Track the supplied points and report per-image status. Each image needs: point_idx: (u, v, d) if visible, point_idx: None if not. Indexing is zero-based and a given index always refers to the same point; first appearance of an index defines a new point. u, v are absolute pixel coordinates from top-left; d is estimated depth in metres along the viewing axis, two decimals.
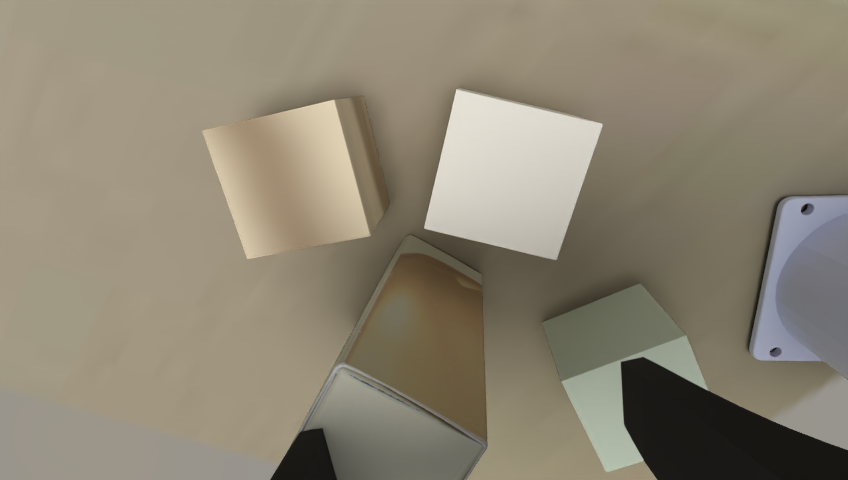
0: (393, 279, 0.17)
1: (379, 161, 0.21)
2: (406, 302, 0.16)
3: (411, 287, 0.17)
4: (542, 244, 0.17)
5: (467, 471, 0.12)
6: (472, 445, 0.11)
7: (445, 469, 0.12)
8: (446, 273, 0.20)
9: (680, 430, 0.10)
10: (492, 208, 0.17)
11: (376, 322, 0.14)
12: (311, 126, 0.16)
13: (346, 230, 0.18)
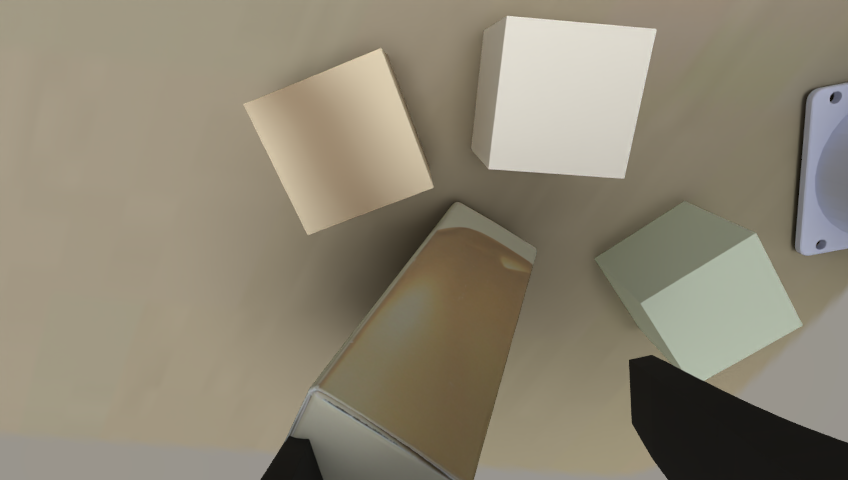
0: (416, 266, 0.15)
1: None
2: (422, 297, 0.14)
3: (436, 276, 0.15)
4: (609, 164, 0.17)
5: None
6: None
7: None
8: (488, 252, 0.18)
9: (690, 428, 0.10)
10: (555, 135, 0.16)
11: (376, 328, 0.12)
12: (359, 80, 0.16)
13: (408, 186, 0.17)
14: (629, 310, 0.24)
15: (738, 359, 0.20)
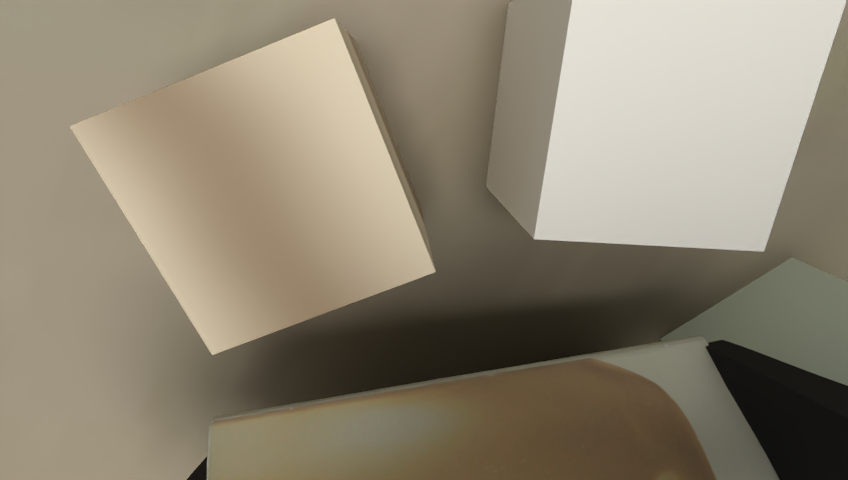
0: (481, 384, 0.11)
1: None
2: (434, 426, 0.10)
3: (493, 416, 0.10)
4: (741, 228, 0.10)
5: None
6: None
7: None
8: (647, 447, 0.10)
9: (776, 409, 0.10)
10: (653, 180, 0.09)
11: (330, 415, 0.10)
12: (295, 80, 0.08)
13: (390, 270, 0.09)
14: None
15: None
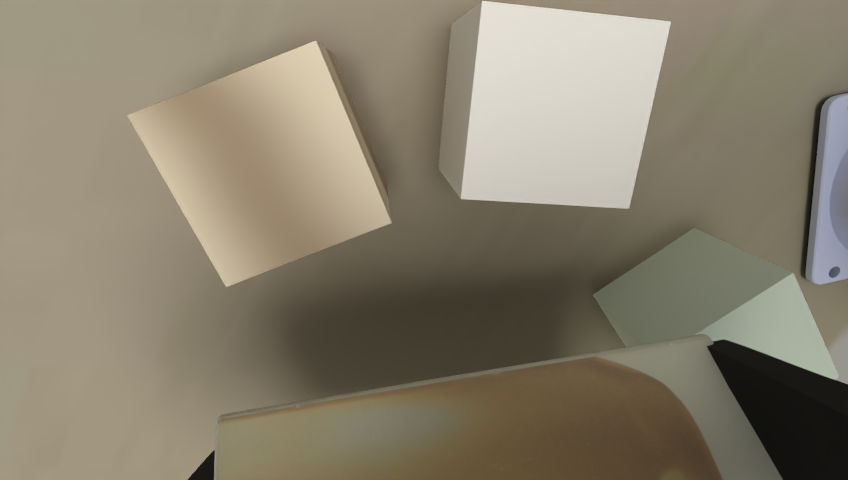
0: (486, 382, 0.11)
1: (365, 134, 0.17)
2: (439, 424, 0.10)
3: (499, 413, 0.10)
4: (610, 191, 0.13)
5: None
6: None
7: None
8: (653, 445, 0.10)
9: (778, 408, 0.10)
10: (544, 156, 0.13)
11: (337, 413, 0.10)
12: (288, 83, 0.12)
13: (358, 221, 0.13)
14: None
15: None
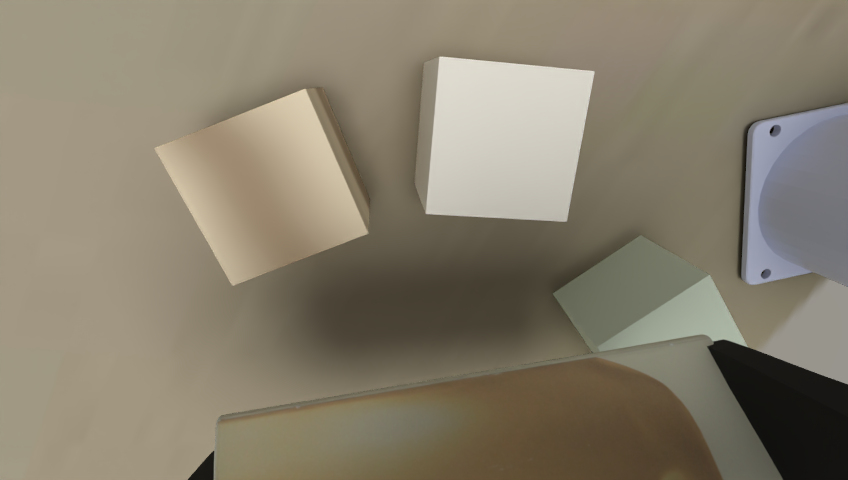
0: (486, 383, 0.11)
1: None
2: (440, 425, 0.10)
3: (499, 414, 0.10)
4: (550, 207, 0.16)
5: None
6: None
7: None
8: (654, 445, 0.10)
9: (778, 408, 0.10)
10: (494, 178, 0.16)
11: (337, 413, 0.10)
12: (283, 122, 0.15)
13: (340, 232, 0.16)
14: (588, 345, 0.23)
15: None
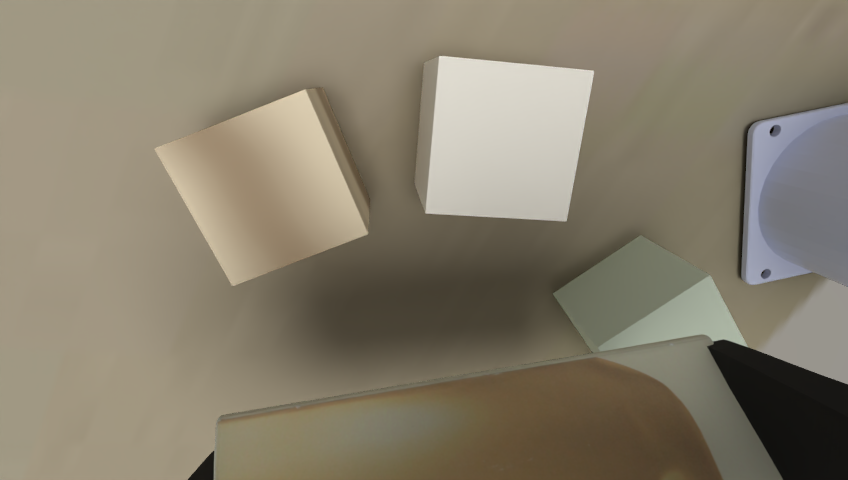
0: (486, 383, 0.11)
1: (351, 156, 0.20)
2: (440, 425, 0.10)
3: (499, 414, 0.10)
4: (550, 207, 0.16)
5: None
6: None
7: None
8: (654, 445, 0.10)
9: (778, 408, 0.10)
10: (494, 178, 0.16)
11: (337, 413, 0.10)
12: (283, 122, 0.14)
13: (340, 233, 0.16)
14: (588, 345, 0.23)
15: None
